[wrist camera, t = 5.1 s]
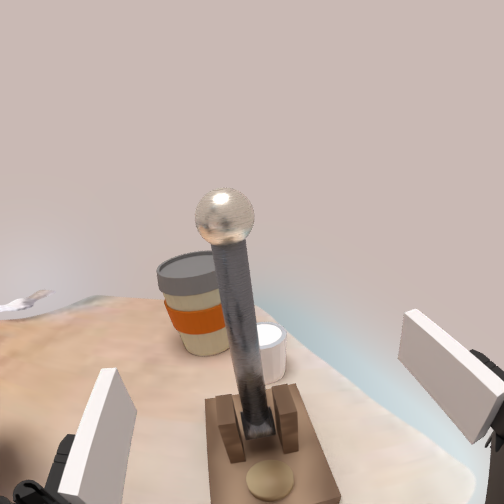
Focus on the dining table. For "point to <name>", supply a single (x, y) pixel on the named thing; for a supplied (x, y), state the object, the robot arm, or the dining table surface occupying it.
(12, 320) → the dining table surface
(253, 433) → the lever
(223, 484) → the lever stand
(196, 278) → the reusable coffee cup
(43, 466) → the dining table surface
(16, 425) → the dining table surface
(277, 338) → the white cylinder
